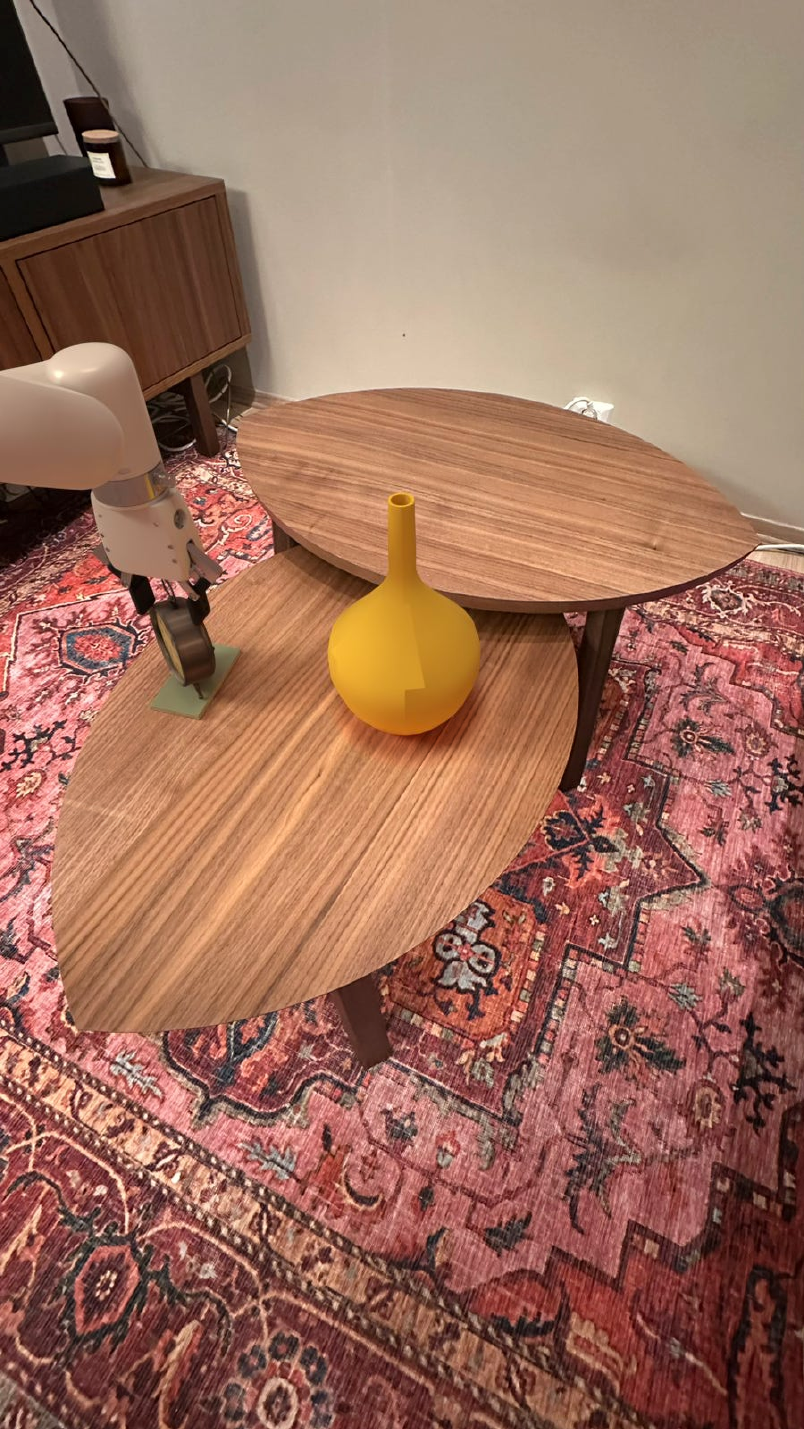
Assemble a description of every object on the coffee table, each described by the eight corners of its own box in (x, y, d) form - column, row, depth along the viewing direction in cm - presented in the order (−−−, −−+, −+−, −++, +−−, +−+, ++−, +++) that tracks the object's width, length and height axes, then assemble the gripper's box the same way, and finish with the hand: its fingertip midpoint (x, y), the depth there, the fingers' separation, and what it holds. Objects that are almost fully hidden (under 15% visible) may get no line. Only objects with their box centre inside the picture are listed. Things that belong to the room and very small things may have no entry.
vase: (306, 726, 87) (268, 521, 64) (380, 639, 97) (369, 437, 75) (434, 783, 81) (441, 579, 58) (498, 684, 91) (525, 479, 69)
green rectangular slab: (199, 720, 88) (198, 716, 87) (151, 709, 89) (149, 705, 88) (242, 652, 96) (241, 648, 95) (197, 643, 97) (195, 639, 97)
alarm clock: (161, 660, 94) (126, 562, 82) (198, 645, 96) (169, 547, 84) (193, 709, 88) (160, 612, 76) (232, 692, 90) (206, 595, 78)
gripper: (221, 472, 71) (252, 606, 84) (76, 451, 74) (128, 583, 88) (187, 510, 66) (226, 646, 80) (33, 486, 69) (95, 620, 83)
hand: (174, 612), depth 83 cm, fingers closed on alarm clock, 6 cm apart
